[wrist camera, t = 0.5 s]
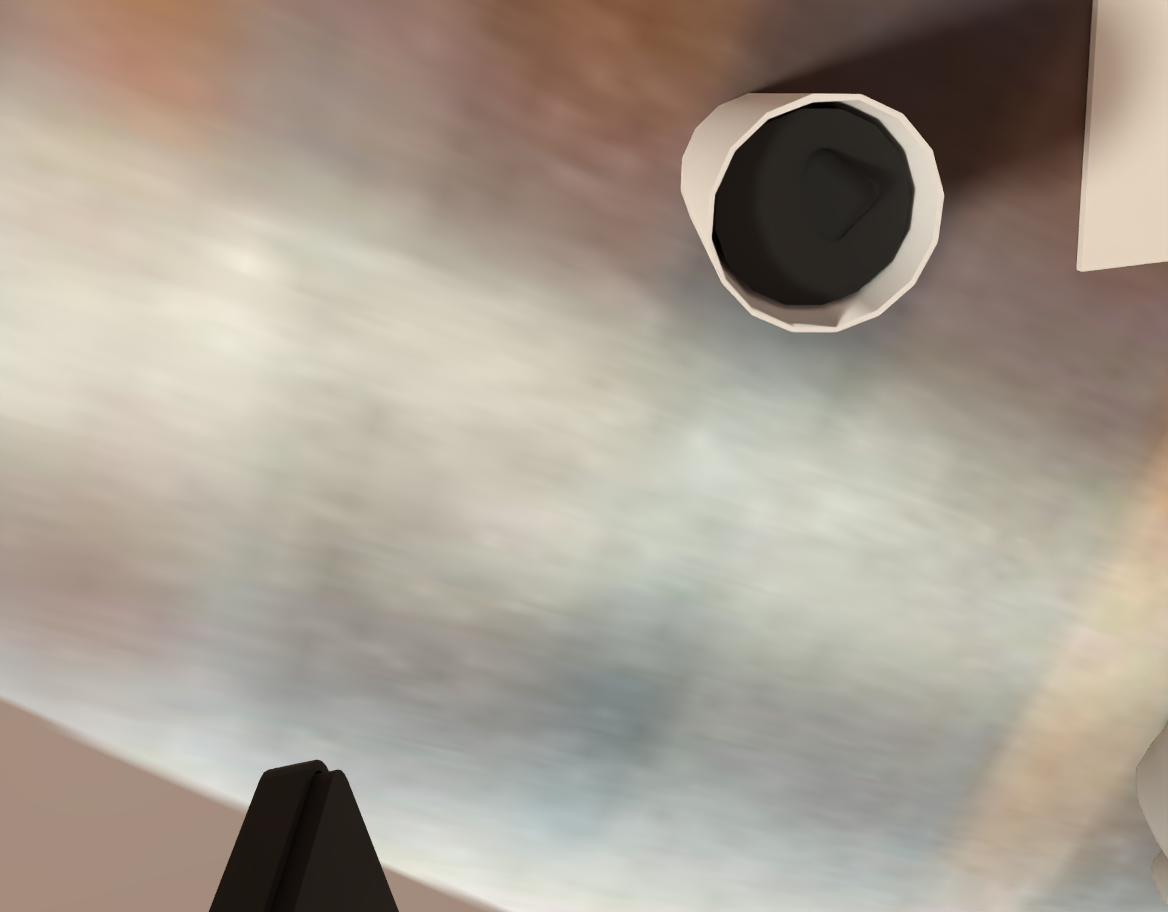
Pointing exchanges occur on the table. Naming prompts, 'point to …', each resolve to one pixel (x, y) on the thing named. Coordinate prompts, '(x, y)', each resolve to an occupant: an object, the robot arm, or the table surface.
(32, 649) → the table surface
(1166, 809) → the jar
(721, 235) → the white cup
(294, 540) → the table surface
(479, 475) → the table surface
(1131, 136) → the mat
